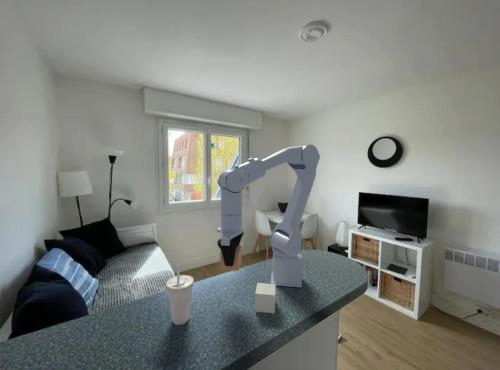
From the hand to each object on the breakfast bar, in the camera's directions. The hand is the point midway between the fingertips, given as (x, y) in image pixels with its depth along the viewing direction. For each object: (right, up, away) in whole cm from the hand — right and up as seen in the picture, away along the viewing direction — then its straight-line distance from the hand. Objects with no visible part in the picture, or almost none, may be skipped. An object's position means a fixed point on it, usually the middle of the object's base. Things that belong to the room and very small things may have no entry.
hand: (231, 261), depth 62 cm
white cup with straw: (-11, -11, -8) cm, 18 cm away
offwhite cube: (+9, -11, -3) cm, 15 cm away
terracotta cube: (0, -1, 0) cm, 1 cm away
